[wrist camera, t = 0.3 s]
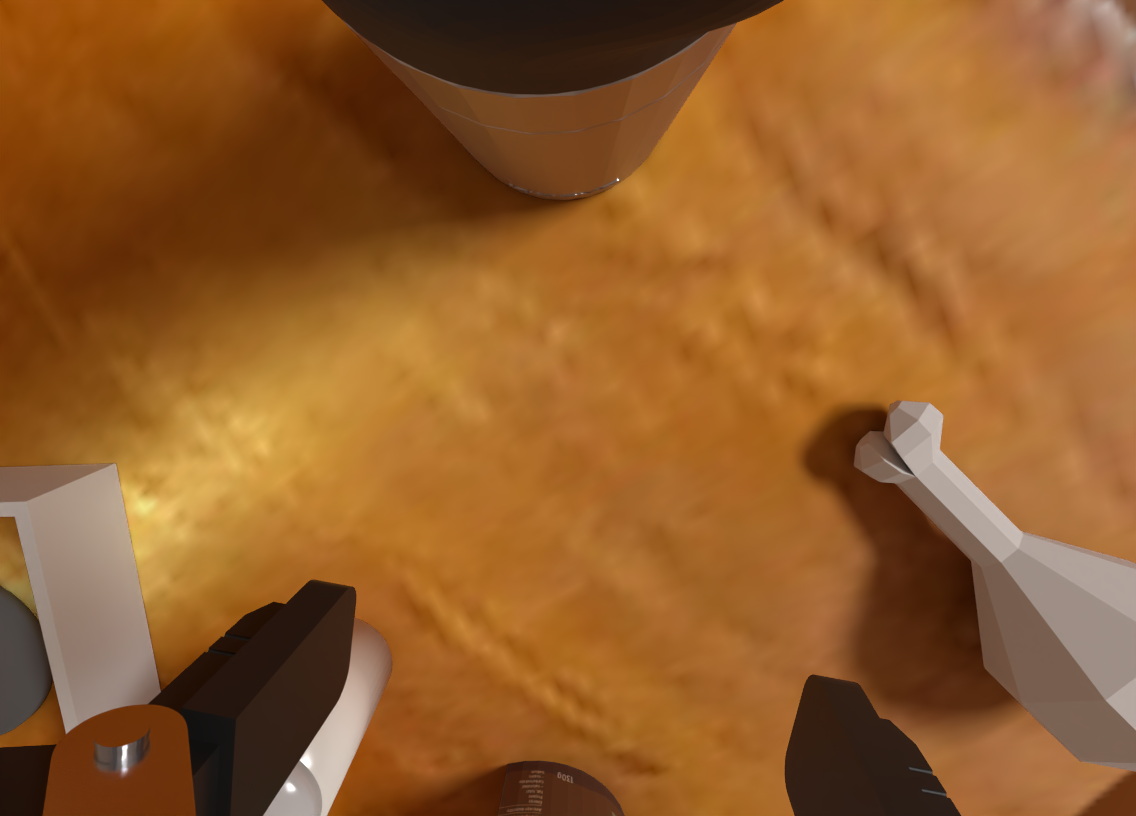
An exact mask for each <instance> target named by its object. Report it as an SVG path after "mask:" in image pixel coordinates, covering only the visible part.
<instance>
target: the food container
mask: <svg viewBox="0 0 1136 816" xmlns="http://www.w3.org/2000/svg"><path fill="white" fill-rule="evenodd" d="M498 816H624V813H623V811H622V809H621V806H620V804H619V803H618V801H617V800H616V798H615V797H614V795H613V794H612V793H611V792H610V791H609V790H608V789H607V788H606V787H605V786H604V785H603V784H602V783H600V782H599V781H598V780H596V779H595V778H594V777H592V776H590V775H588V774H587V773H585V772H583V771H581V770H578V769H576V768H573V767H571V766H568V765H564V764H559V763H555V762H546V761H523V762H517V763H512V764H508V767H507V772H506V777H505V782H504V787H503V791H502V796H501V801H500V806H499V811H498Z"/></svg>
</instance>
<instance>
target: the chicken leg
mask: <svg viewBox="0 0 1136 816" xmlns="http://www.w3.org/2000/svg"><path fill="white" fill-rule="evenodd" d="M942 423H943V415H942V414H941V413H940V412H939V411H938V410H937V409H936V408H935V407H934V406H933V405H931V404H930V403H925V402H910V401H896V402H894V403H892V404H890V406H889V410H888V415H887V419H886V424H885V428H884V432H881V431H869V432H868V433H867V434H866V435H865V436H864V437H863V438H861V439H860V441H859V442H858V444H857V445H856V451H855V459H854V467H856V468H857V469H859V470H860V471H862V472H863V473H865V474H867V475H868V476H870V477H871V478H873V479H875V480H877V481H879V482H886V483H895V484H896V485H897V486H898V487H899V488H900V489H901V490H902V491H903V492H904V493H905V494H906V495H907V496H908V497H909V498H910V499H911V500H912V501H913V502H914V503H915V504H916V505H917V506H918V507H919V508H920V510H921V511H922V512H923V513H924V514H925V515H926V516H927V517H928V518H929V519H930V520H931V521H932V522H933V523H934V524H935V525H936V526H937V527H938V528H939V529H940V530H941V531H942V532H943V533H944V534H945V535H946V536H947V537H948V538H949V539H950V540H951V541H952V542H953V543H954V544H955V545H956V546H957V547H958V548H959V549H960V550H961V551H962V552H963V553H964V554H965V555H966V556H967V557H968V558H969V559H970V560H971V564H972V573H973V581H974V589H975V598H976V606H977V614H978V623H979V631H980V639H981V647H982V656H983V664H984V668H985V669H986V670H987V671H988V672H989V673H990V674H991V675H992V676H993V677H994V678H995V679H996V680H997V681H998V682H999V683H1000V684H1001V685H1002V686H1003V687H1004V688H1005V689H1006V690H1007V691H1008V692H1009V693H1010V694H1011V695H1012V696H1013V697H1014V698H1015V699H1016V700H1017V701H1018V702H1019V703H1020V704H1021V705H1022V706H1023V707H1024V708H1025V709H1026V710H1027V711H1028V712H1029V713H1030V714H1031V715H1032V716H1033V717H1034V718H1035V719H1036V720H1037V721H1038V722H1039V723H1040V724H1041V725H1042V726H1043V727H1044V728H1045V729H1046V730H1047V731H1049V732H1050V733H1051V734H1052V735H1053V736H1054V737H1055V738H1056V739H1057V740H1058V741H1059V742H1060V743H1061V744H1062V745H1063V746H1064V747H1065V748H1066V749H1068V750H1069V751H1070V752H1071V753H1072V754H1073V755H1074V756H1075V757H1076V758H1077V759H1078V760H1079V761H1082V762H1087V763H1093V764H1098V765H1104V766H1109V767H1115V768H1120V769H1125V770H1131V771H1136V564H1135V563H1133V562H1131V561H1128V560H1125V559H1121V558H1117V557H1114V556H1110V555H1106V554H1103V553H1099V552H1095V551H1092V550H1088V549H1085V548H1081V547H1077V546H1074V545H1070V544H1066V543H1063V542H1059V541H1055V540H1052V539H1048V538H1045V537H1041V536H1037V535H1034V534H1030V533H1026V532H1023V531H1020V530H1019V529H1018V528H1017V527H1016V526H1015V525H1014V524H1013V523H1012V522H1011V521H1010V520H1009V519H1008V518H1007V517H1006V516H1005V515H1004V514H1003V513H1002V512H1001V511H1000V510H999V509H998V508H997V507H996V506H995V505H994V504H993V503H992V502H991V501H990V500H989V499H988V498H987V497H986V496H985V495H984V494H983V493H982V492H981V491H980V490H979V489H978V488H977V487H976V486H975V485H974V484H973V483H972V482H971V481H970V480H969V479H968V478H967V477H966V476H965V475H964V474H963V473H962V472H961V471H960V470H959V469H958V468H957V467H956V466H955V465H954V464H953V463H952V462H951V461H950V460H949V459H948V458H947V457H946V456H945V455H944V454H943V453H942V452H941V451H940V441H941V432H942Z"/></svg>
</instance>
